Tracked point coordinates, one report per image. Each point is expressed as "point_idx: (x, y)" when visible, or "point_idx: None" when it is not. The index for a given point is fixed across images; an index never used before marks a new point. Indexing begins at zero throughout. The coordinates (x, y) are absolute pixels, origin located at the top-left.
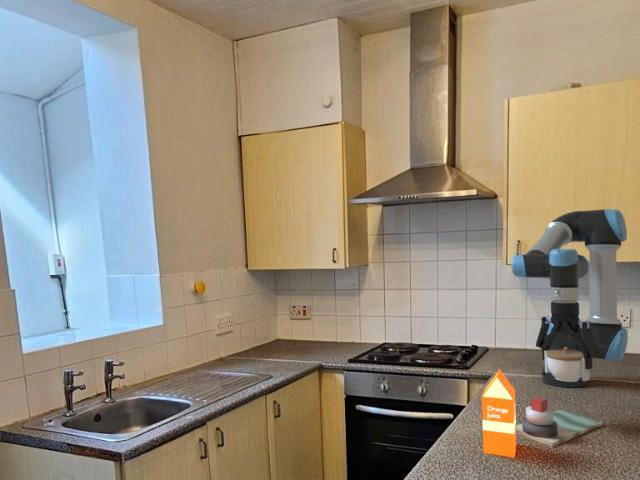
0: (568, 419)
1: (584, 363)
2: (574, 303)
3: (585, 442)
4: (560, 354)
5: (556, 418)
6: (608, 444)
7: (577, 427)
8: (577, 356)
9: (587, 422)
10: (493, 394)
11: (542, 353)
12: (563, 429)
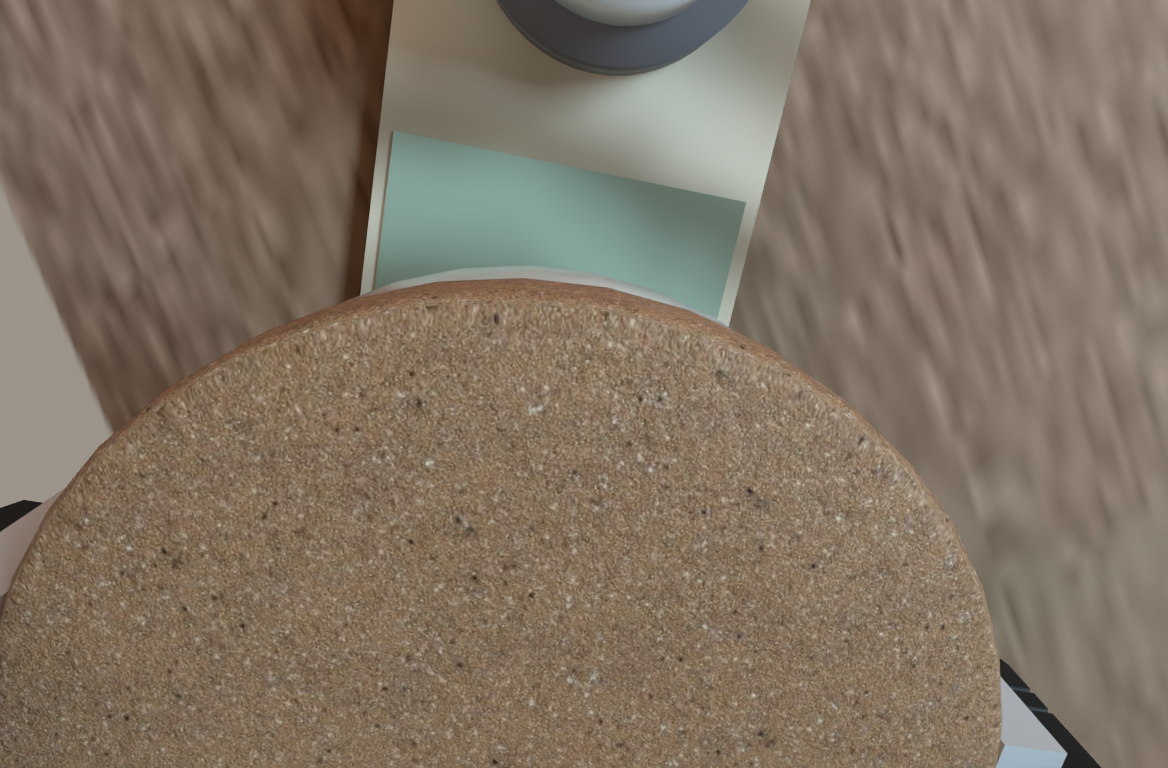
0: None
1: (18, 535)
2: None
3: (288, 30)
4: (524, 491)
5: None
6: (152, 114)
7: (418, 228)
8: (59, 582)
9: None
10: None
11: (1070, 738)
12: (487, 113)
